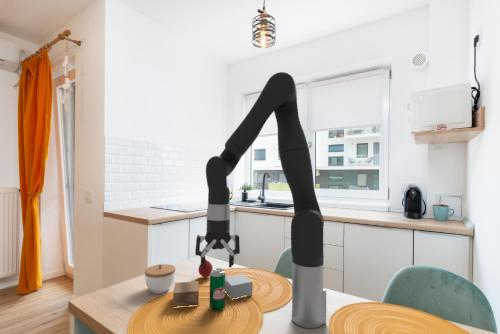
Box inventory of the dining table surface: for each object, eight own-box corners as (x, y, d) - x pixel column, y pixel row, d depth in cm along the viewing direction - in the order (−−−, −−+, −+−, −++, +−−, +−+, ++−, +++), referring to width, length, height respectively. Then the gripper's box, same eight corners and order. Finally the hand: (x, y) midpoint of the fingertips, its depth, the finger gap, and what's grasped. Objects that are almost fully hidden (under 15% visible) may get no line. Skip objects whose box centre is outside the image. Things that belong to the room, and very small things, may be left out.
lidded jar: (149, 299, 91) (149, 272, 91) (141, 288, 99) (141, 263, 100) (179, 291, 97) (179, 265, 97) (169, 281, 106) (169, 258, 106)
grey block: (242, 286, 101) (242, 273, 101) (252, 295, 94) (252, 281, 94) (223, 290, 98) (223, 277, 98) (231, 300, 90) (231, 285, 91)
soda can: (213, 313, 82) (214, 274, 82) (206, 306, 86) (207, 269, 86) (227, 309, 85) (228, 271, 85) (220, 302, 89) (221, 266, 89)
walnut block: (198, 295, 94) (198, 281, 94) (198, 306, 86) (198, 291, 86) (175, 297, 92) (175, 282, 93) (173, 308, 85) (173, 293, 85)
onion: (214, 275, 112) (214, 256, 112) (210, 281, 106) (210, 261, 106) (200, 275, 112) (200, 256, 113) (196, 280, 107) (196, 260, 107)
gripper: (196, 219, 81) (194, 272, 81) (241, 219, 84) (240, 270, 84) (196, 215, 88) (195, 264, 88) (238, 215, 91) (237, 262, 91)
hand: (217, 267), depth 86 cm, fingers open, 8 cm apart
